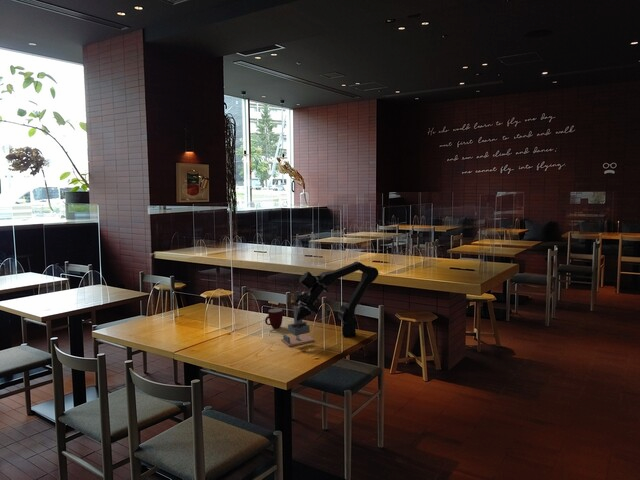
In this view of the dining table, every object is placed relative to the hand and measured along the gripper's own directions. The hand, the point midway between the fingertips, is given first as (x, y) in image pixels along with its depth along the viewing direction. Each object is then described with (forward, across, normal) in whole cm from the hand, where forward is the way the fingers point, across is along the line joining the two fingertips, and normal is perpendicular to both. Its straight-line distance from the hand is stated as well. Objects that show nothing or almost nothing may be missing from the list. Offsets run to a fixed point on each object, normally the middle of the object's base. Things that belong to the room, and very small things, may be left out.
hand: (295, 319), depth 238 cm
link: (+4, 0, +6) cm, 7 cm away
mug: (+8, -32, +11) cm, 34 cm away
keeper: (+7, -5, +11) cm, 15 cm away
